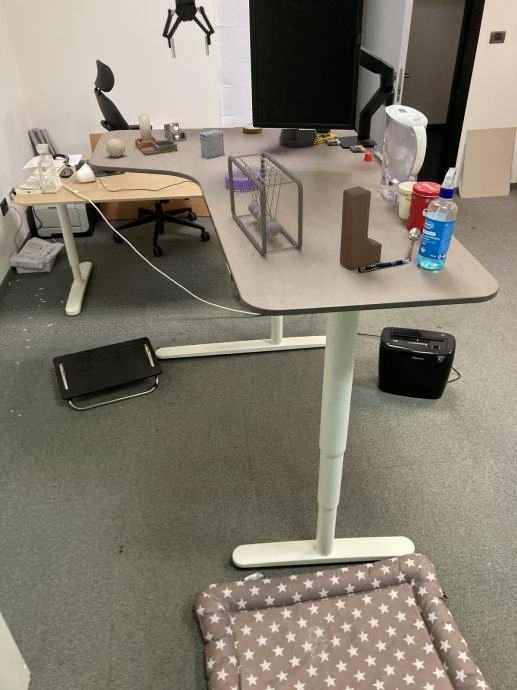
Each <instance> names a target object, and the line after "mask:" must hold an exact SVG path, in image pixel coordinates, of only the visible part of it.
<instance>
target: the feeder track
mask: <svg viewBox="0 0 517 690" xmlns="http://www.w3.org/2000/svg"><path fill="white" fill-rule="evenodd" d="M163 131H164V136H165V138H166V137H167V138H168V139H167V138H166V139H167V140H172V141H174V142H175V143H177V142H176V141H178V142H183V141H182V140H185V141H187V140H188V139H187V138H188V137H187V132H185V131H184V130H183V129H182V128H181V127H180V125H179V122H170V123H165V124H163Z"/></svg>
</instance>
